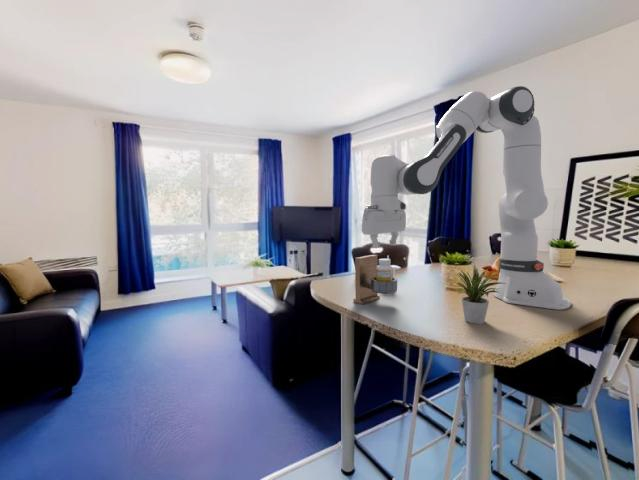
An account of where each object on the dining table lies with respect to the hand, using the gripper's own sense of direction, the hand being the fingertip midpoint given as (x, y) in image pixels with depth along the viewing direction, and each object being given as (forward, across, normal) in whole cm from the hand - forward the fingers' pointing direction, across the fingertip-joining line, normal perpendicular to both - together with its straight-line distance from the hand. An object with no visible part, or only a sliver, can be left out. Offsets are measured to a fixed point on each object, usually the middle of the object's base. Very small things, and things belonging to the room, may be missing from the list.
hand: (384, 246), depth 107 cm
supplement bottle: (+14, 0, 0) cm, 14 cm away
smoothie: (+20, +18, +11) cm, 29 cm away
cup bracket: (+20, 0, +3) cm, 20 cm away
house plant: (+21, +4, -28) cm, 35 cm away
